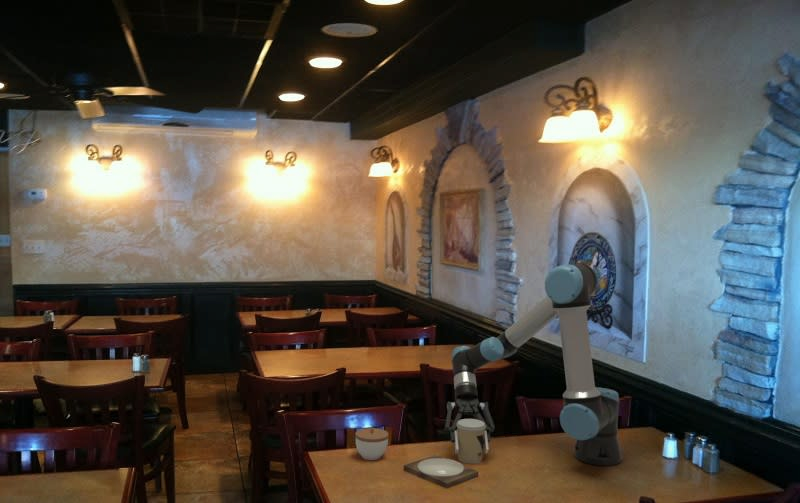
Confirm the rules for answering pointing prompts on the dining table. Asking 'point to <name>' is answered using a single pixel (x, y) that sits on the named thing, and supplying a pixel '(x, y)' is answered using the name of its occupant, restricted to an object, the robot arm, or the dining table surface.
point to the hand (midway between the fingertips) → (471, 451)
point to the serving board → (441, 471)
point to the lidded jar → (371, 443)
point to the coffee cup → (470, 440)
